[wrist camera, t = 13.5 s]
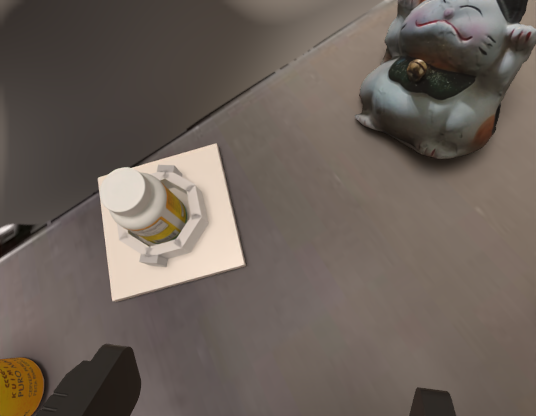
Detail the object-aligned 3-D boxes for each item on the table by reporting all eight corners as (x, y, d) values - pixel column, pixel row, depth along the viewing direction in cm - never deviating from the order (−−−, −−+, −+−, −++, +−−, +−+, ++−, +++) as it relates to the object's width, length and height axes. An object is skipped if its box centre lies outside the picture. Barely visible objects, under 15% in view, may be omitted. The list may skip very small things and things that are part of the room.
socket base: (218, 147, 44) (210, 132, 41) (246, 266, 40) (239, 260, 36) (102, 180, 45) (85, 169, 41) (117, 301, 40) (99, 299, 37)
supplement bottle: (174, 253, 40) (132, 230, 31) (132, 234, 41) (79, 206, 32) (198, 207, 41) (164, 172, 32) (156, 189, 42) (111, 151, 33)
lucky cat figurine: (331, 106, 44) (357, -35, 34) (404, 81, 49) (445, -48, 39) (437, 182, 35) (514, 24, 25) (512, 143, 40) (600, -2, 30)
